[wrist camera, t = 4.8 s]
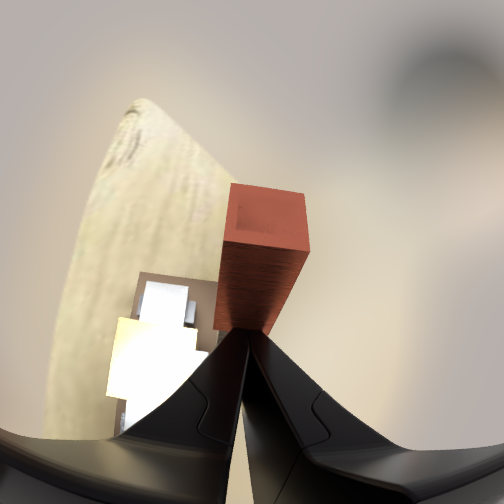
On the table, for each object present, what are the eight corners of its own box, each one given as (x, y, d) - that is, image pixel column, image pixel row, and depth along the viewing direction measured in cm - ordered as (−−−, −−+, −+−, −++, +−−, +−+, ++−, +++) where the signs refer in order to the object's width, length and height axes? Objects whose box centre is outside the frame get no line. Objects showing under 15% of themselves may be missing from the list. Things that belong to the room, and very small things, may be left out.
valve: (199, 450, 17) (198, 464, 12) (122, 437, 16) (97, 445, 12) (213, 308, 22) (216, 277, 17) (142, 298, 21) (126, 265, 17)
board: (226, 476, 17) (227, 480, 16) (116, 460, 16) (112, 462, 15) (240, 291, 24) (242, 285, 23) (142, 278, 23) (140, 271, 22)
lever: (237, 393, 15) (310, 255, 6) (206, 390, 15) (223, 244, 6) (239, 361, 16) (304, 191, 7) (209, 358, 16) (231, 179, 7)
